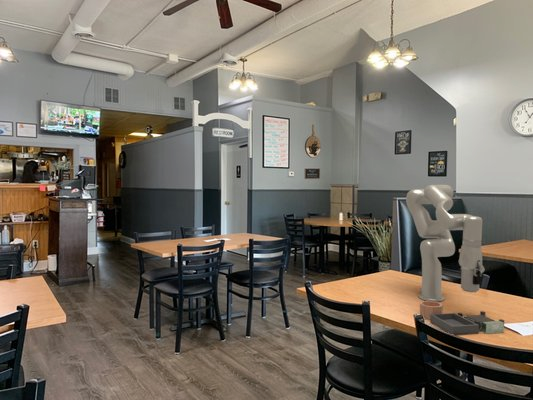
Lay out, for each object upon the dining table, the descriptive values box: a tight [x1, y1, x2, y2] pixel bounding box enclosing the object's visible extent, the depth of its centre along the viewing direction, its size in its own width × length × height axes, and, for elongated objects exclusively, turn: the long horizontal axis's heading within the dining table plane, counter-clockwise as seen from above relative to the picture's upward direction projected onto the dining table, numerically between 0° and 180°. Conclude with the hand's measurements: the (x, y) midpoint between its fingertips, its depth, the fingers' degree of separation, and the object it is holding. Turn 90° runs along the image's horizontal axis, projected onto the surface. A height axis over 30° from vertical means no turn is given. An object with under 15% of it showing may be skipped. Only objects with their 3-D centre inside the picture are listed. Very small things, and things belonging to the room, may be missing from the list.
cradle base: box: [457, 310, 505, 335], centre depth 166 cm, size 15×12×4 cm
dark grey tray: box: [429, 312, 480, 336], centre depth 166 cm, size 16×12×4 cm
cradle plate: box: [463, 314, 496, 328], centre depth 168 cm, size 9×9×2 cm
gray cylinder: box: [460, 265, 480, 293], centre depth 179 cm, size 8×8×12 cm
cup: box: [419, 300, 444, 321], centre depth 179 cm, size 9×9×6 cm
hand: (470, 281), depth 180 cm, fingers closed on gray cylinder, 7 cm apart
